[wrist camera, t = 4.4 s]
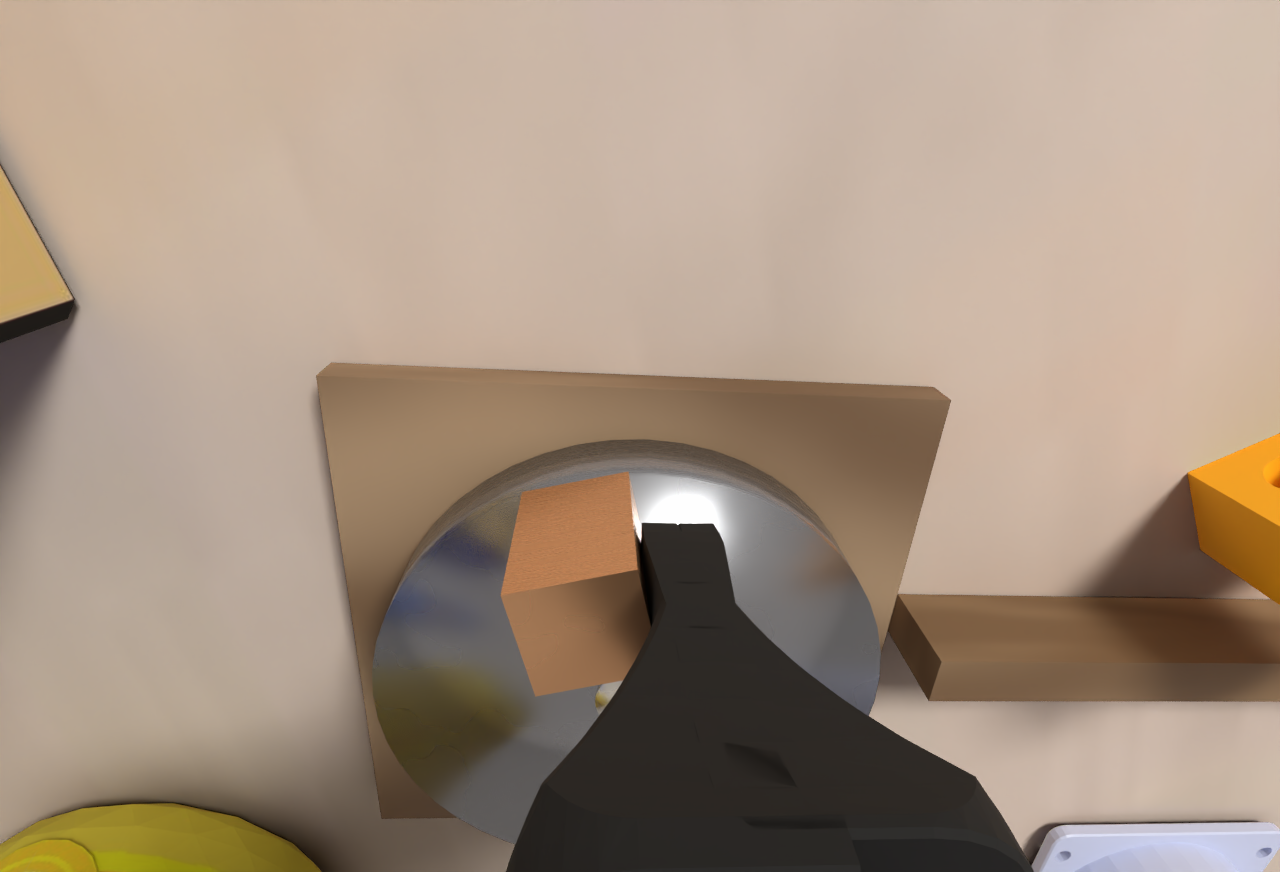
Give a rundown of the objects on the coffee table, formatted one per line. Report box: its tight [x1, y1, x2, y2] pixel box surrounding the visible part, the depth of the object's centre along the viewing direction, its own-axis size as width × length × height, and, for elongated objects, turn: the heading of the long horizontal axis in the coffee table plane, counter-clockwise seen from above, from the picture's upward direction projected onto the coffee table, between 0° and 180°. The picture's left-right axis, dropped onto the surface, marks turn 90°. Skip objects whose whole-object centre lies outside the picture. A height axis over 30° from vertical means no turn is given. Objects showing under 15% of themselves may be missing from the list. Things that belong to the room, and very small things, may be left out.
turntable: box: [372, 439, 881, 844], centre depth 14 cm, size 11×11×5 cm
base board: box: [316, 363, 951, 819], centre depth 17 cm, size 13×13×1 cm
